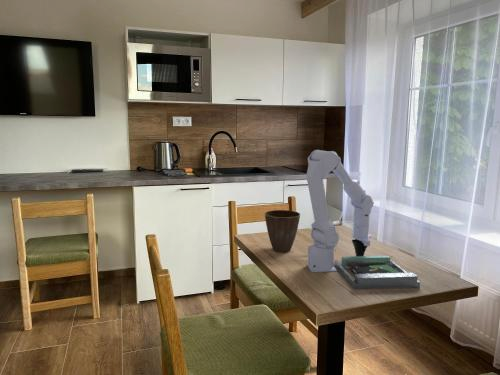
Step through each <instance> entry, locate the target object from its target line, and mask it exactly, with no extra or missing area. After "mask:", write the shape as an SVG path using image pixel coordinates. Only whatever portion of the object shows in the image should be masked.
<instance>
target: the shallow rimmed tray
mask: <svg viewBox="0 0 500 375" xmlns="http://www.w3.org/2000/svg"><path fill="white" fill-rule="evenodd" d="M333 266H334V267H335V268H336V270H337V271H339V273H341V276H343V277H344V278H345V280H347V282H348V283H349V284H350V285H351V287H352V288H353V289H354V290H378V289H380V290H382V289H408V288H409V289H411V288H414V289H416V288H420V287H421V282H420V281H419V280H418V279H419V277H418V275H416V274H415V273H414V272H407V271H406V270H405V269H404V268H402V266H400V265H398V264H397V263H396V262H395V261H394V260H392V259H391V258H390V266H391V267H393V268H394V269H397V270H398V271H400V272H401V273H376V274H354V277H352V275H351V274H350V273H349V272H348V270H347V269H344V267H343V266H342V265H341V263H340V262H339V261H338V259H334V264H333Z"/></svg>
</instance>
